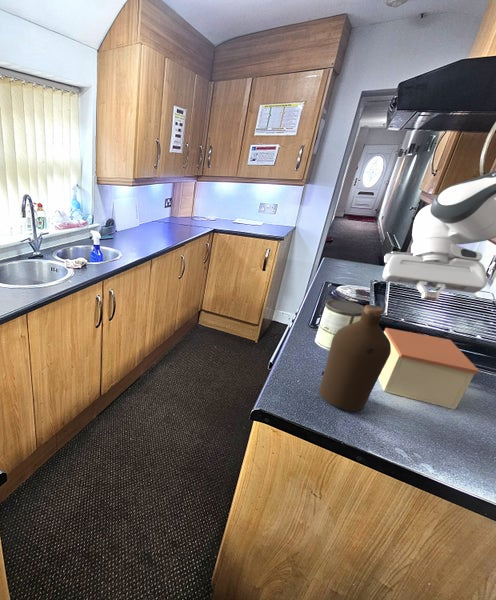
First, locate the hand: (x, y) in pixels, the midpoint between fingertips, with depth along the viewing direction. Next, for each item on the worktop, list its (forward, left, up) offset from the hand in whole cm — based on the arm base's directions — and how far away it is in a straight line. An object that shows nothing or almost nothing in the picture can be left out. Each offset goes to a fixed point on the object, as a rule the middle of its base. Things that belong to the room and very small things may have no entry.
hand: (430, 299), depth 87 cm
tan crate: (0, +9, -22) cm, 23 cm away
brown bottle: (+17, +26, -22) cm, 38 cm away
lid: (0, +9, -11) cm, 14 cm away
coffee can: (+16, -5, -22) cm, 27 cm away
